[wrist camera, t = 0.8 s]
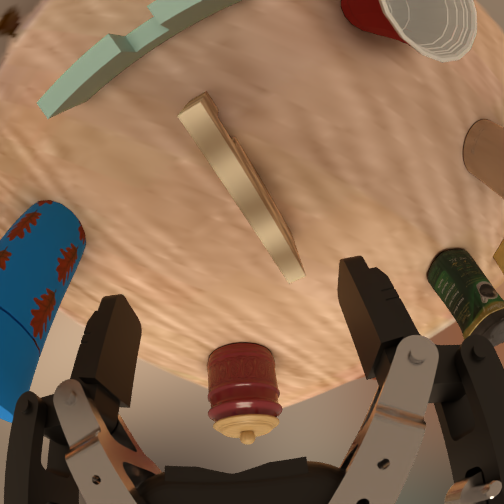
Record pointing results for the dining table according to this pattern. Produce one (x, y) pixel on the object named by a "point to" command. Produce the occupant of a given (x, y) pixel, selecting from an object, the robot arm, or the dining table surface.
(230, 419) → the canister
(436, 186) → the dining table surface
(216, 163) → the brass bar
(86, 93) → the sage green notched block
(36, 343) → the thermos
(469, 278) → the coffee jar
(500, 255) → the cheese
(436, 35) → the plastic cup
